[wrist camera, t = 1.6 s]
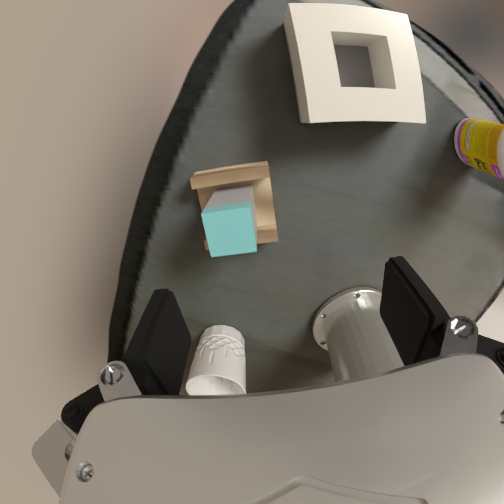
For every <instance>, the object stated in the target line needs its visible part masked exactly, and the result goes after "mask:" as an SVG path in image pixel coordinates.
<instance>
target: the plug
mask: <svg viewBox="0 0 504 504" xmlns="http://www.w3.org/2000/svg"><path fill="white" fill-rule="evenodd" d="M201 216H202V221H203V225H204V229H205V234H206V238H207V242H208V246H209V250H210V255H211V257H217V256H225V255H233V254H241V253H249V252H257V214H256V208H255V201H254V195H253V188H252V184H250V185H243V186H236V187H230V188H223V189H217V190H215V191H214V193H213V195H212V196H211V198H210V200H209V201H208V203H207V205H206V206H205V208H204V210H203V212H202V213H201Z"/></svg>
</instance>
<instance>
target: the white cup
mask: <svg viewBox="0 0 504 504" xmlns="http://www.w3.org/2000/svg"><path fill="white" fill-rule="evenodd" d="M186 391H187V392H188V394H189V395H227V394H245V393H246V364H245V352H244V338H243V336H242V334H241V333H240V332H239V331H238V330H236V329H235V328H233V327H230V326H226V325H213V326H211V327H209V328H207V329H205V331H204V332H203V333H202V335H201V338H200V341H199V344H198V347H197V349H196V353H195V356H194V358H193V362H192V365H191V369H190V372H189V376H188V379H187V382H186Z"/></svg>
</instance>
